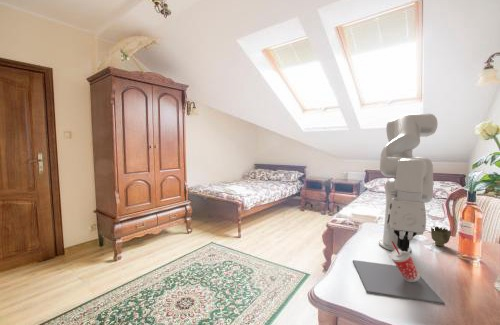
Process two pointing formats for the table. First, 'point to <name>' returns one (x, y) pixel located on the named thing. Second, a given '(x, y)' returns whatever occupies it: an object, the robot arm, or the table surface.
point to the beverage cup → (405, 264)
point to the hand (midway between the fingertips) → (402, 249)
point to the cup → (440, 236)
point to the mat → (393, 283)
